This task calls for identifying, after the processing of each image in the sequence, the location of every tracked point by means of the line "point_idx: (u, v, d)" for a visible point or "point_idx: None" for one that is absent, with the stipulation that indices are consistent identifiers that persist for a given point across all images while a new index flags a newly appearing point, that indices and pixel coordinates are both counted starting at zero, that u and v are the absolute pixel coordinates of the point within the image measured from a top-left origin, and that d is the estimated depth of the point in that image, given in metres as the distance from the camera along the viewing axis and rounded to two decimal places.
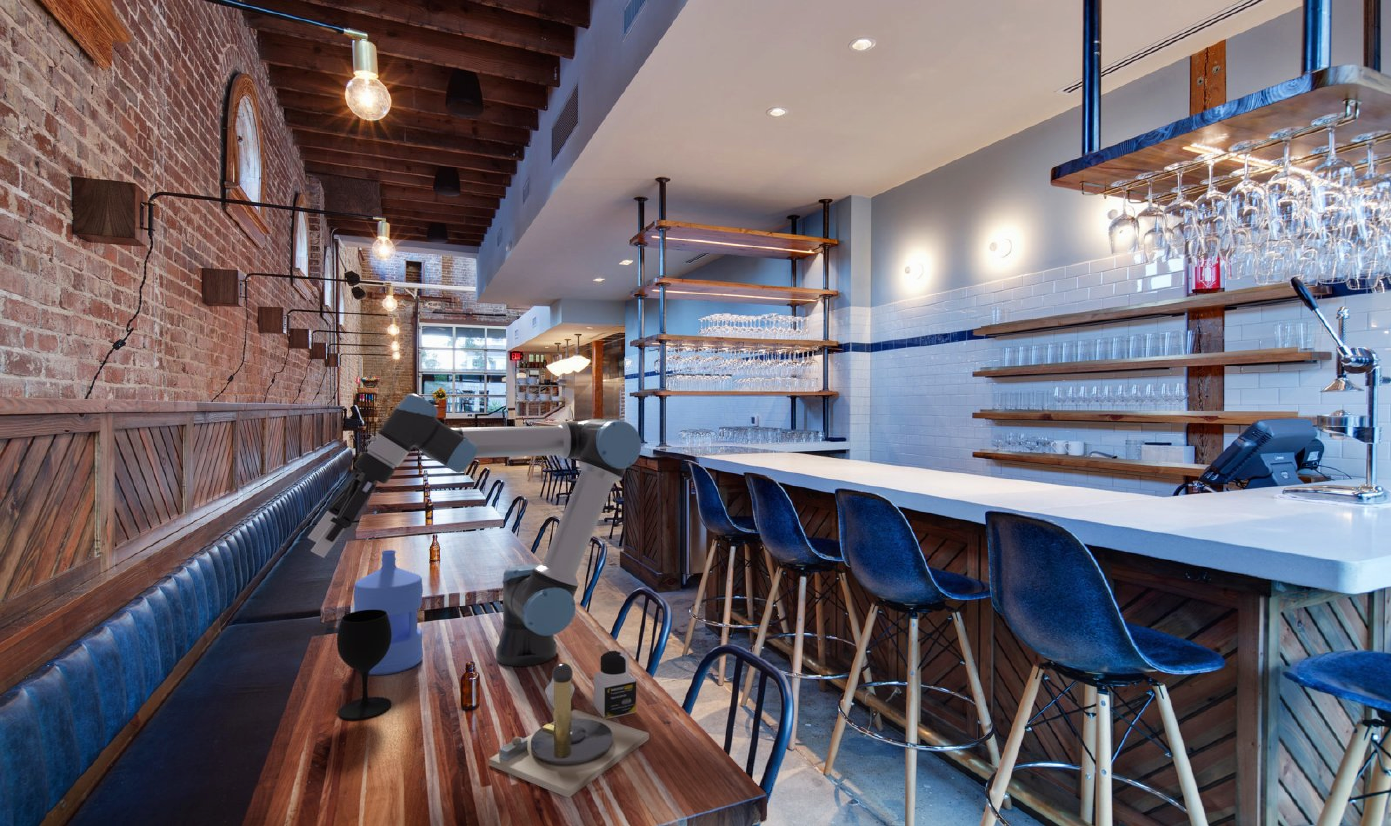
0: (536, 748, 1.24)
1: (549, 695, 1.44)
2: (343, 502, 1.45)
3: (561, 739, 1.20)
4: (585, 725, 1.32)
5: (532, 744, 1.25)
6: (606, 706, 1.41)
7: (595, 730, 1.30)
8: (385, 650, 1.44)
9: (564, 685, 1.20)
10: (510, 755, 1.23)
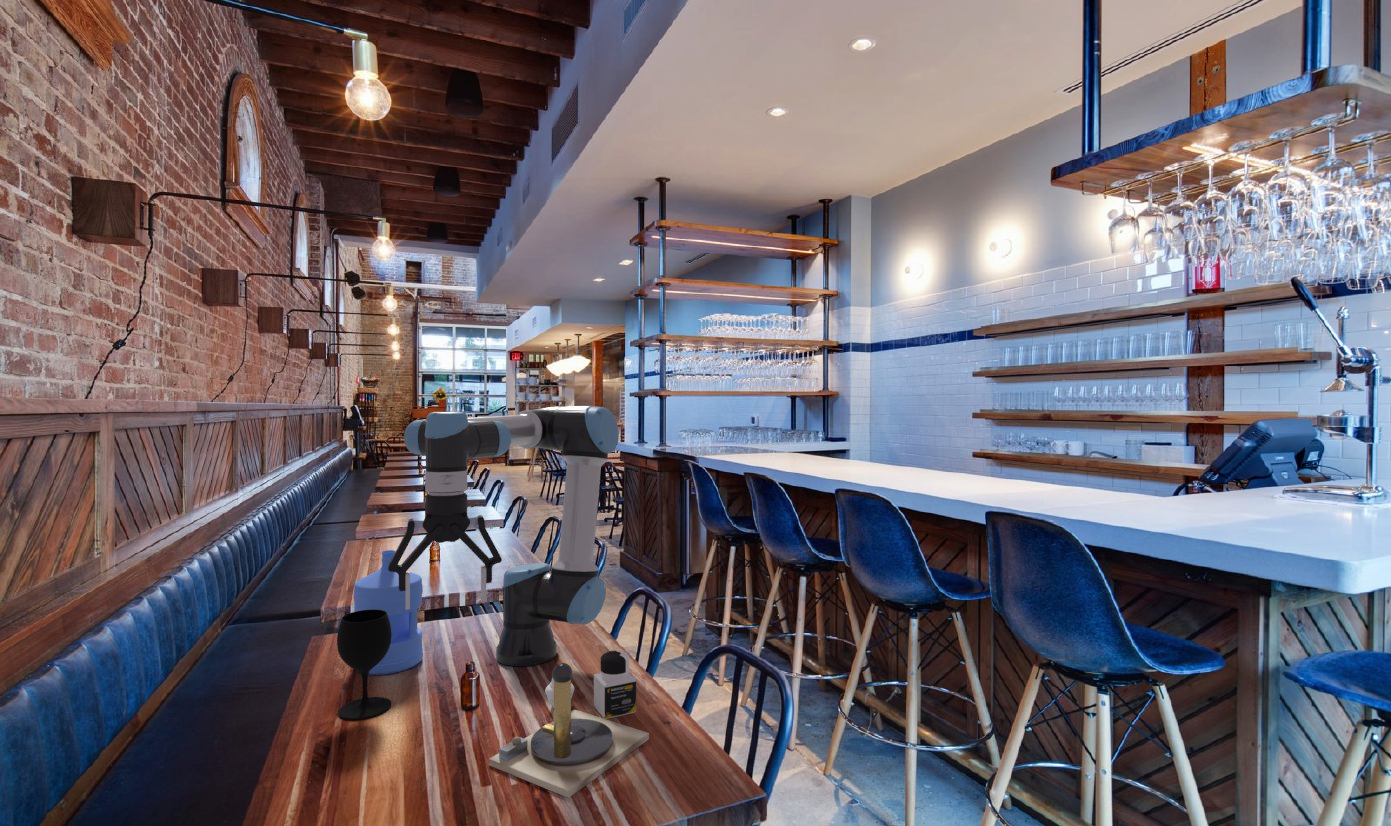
0: (536, 748, 1.24)
1: (549, 695, 1.44)
2: None
3: (561, 739, 1.20)
4: (585, 725, 1.32)
5: (532, 744, 1.25)
6: (606, 706, 1.41)
7: (595, 730, 1.30)
8: (385, 650, 1.44)
9: (564, 685, 1.20)
10: (510, 755, 1.23)
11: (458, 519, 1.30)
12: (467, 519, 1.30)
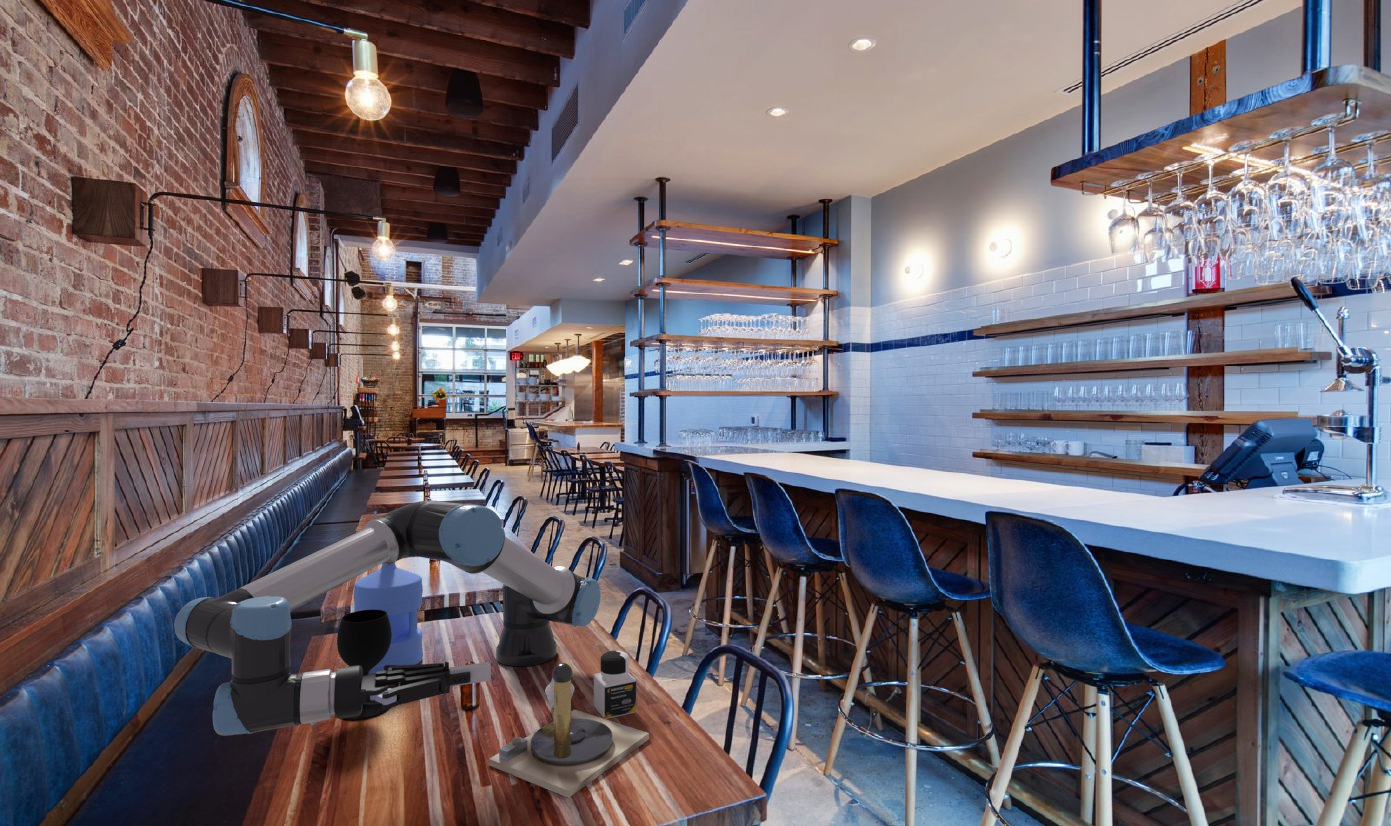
0: (536, 748, 1.24)
1: (549, 695, 1.44)
2: None
3: (561, 739, 1.20)
4: (585, 725, 1.32)
5: (532, 744, 1.25)
6: (606, 706, 1.41)
7: (595, 730, 1.30)
8: (385, 650, 1.44)
9: (564, 685, 1.20)
10: (510, 755, 1.23)
11: None
12: (374, 703, 1.06)
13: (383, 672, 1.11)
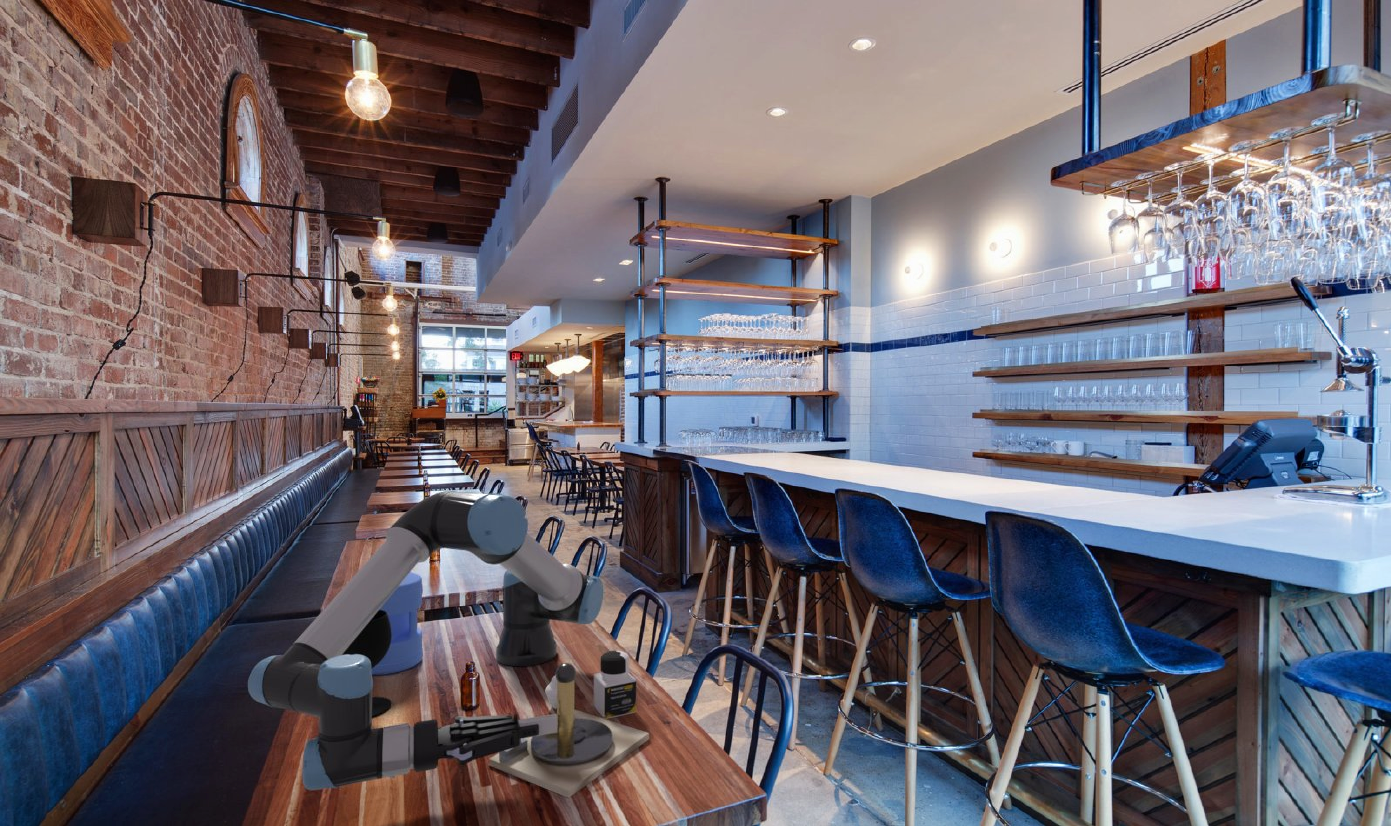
0: (537, 750, 1.23)
1: (549, 695, 1.44)
2: None
3: (566, 739, 1.20)
4: (583, 725, 1.33)
5: (533, 746, 1.24)
6: (606, 706, 1.41)
7: (594, 729, 1.31)
8: (385, 650, 1.44)
9: (568, 685, 1.20)
10: (510, 755, 1.23)
11: None
12: (450, 758, 1.10)
13: (457, 725, 1.15)
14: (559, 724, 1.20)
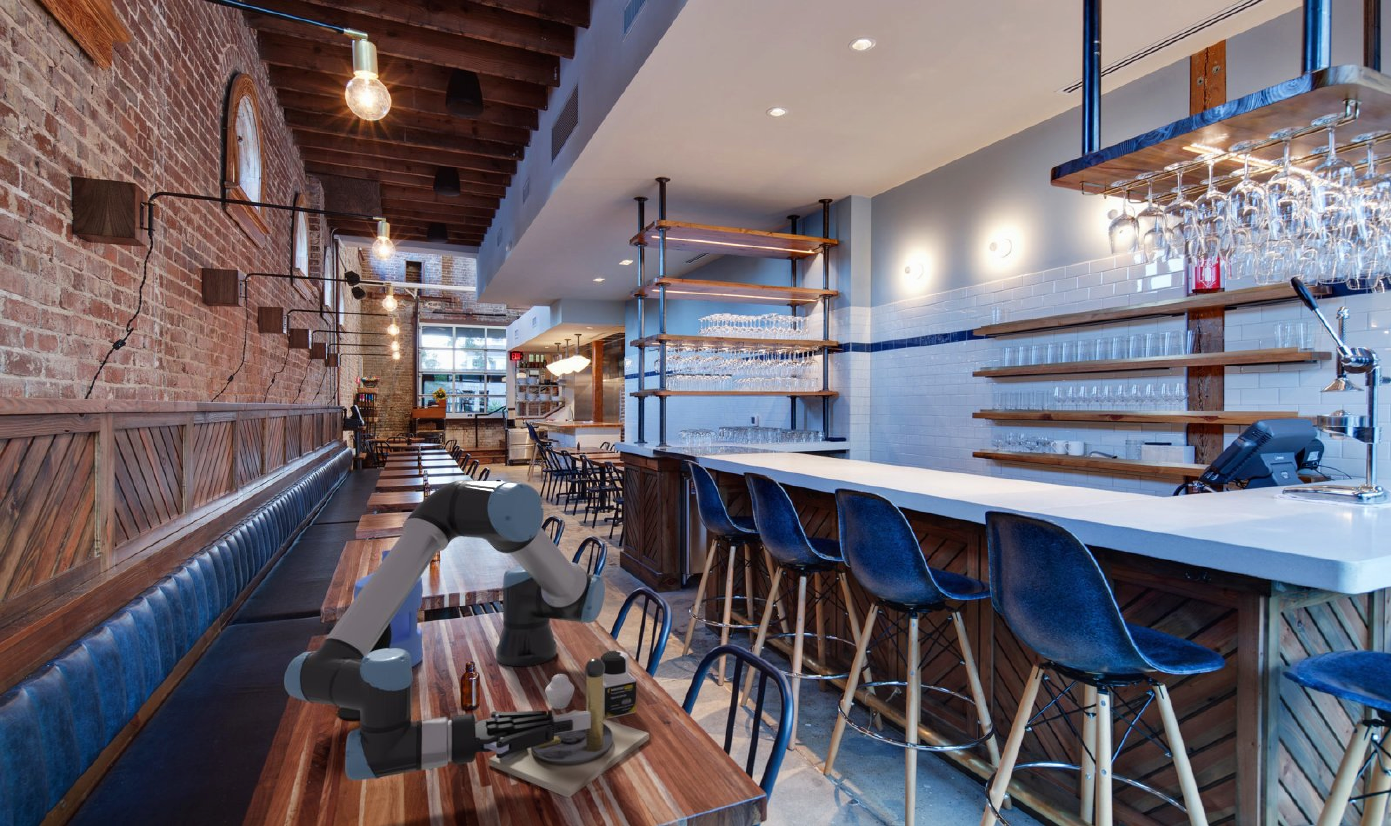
0: (568, 757, 1.21)
1: (549, 695, 1.44)
2: None
3: (601, 731, 1.23)
4: None
5: (557, 757, 1.21)
6: (606, 706, 1.41)
7: None
8: None
9: None
10: (510, 755, 1.23)
11: None
12: (487, 751, 1.12)
13: (493, 720, 1.17)
14: (596, 718, 1.23)
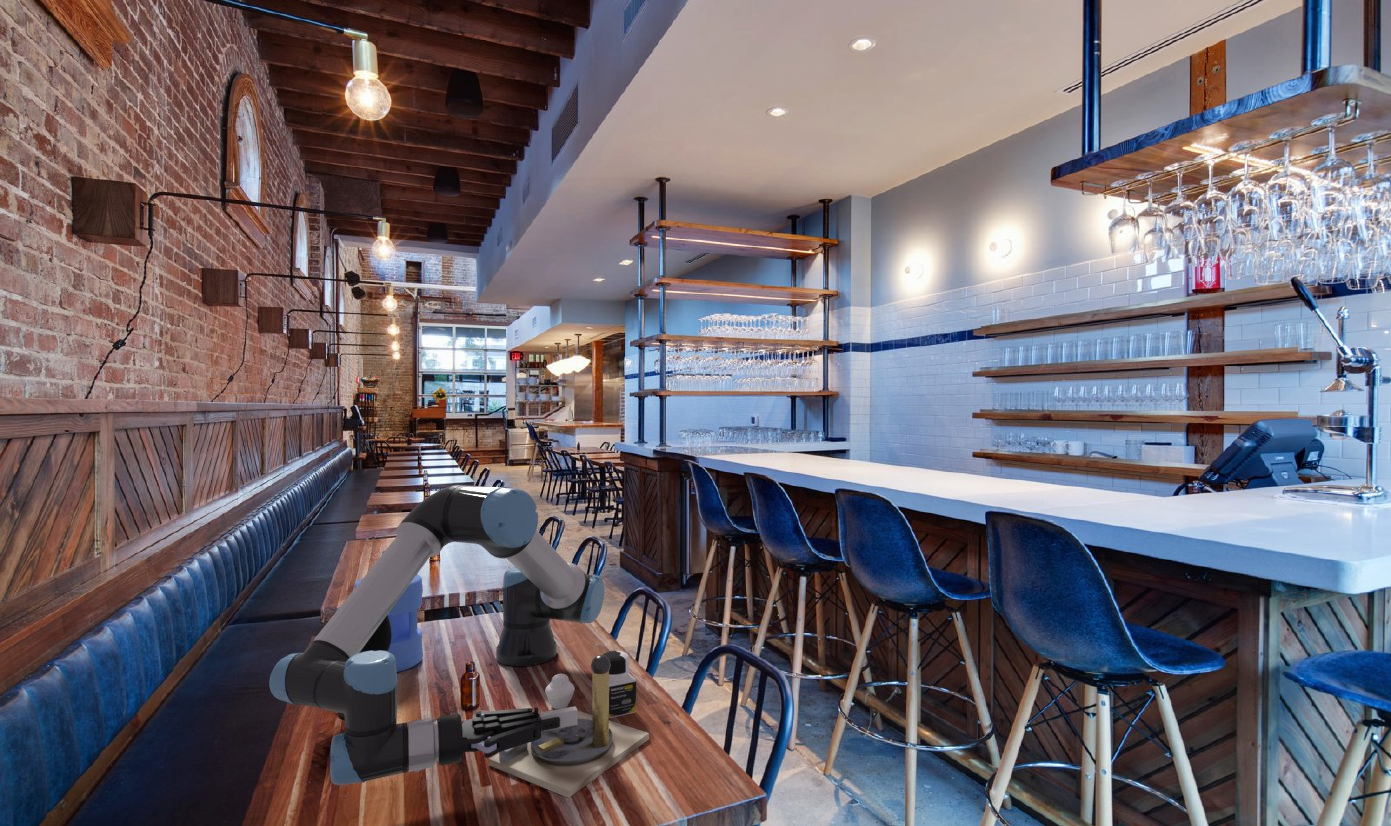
0: (580, 756, 1.21)
1: (549, 695, 1.44)
2: None
3: (608, 725, 1.25)
4: (553, 729, 1.31)
5: (569, 757, 1.20)
6: None
7: None
8: (385, 650, 1.44)
9: (608, 672, 1.26)
10: (510, 755, 1.23)
11: None
12: (475, 751, 1.12)
13: (479, 719, 1.17)
14: (604, 714, 1.24)
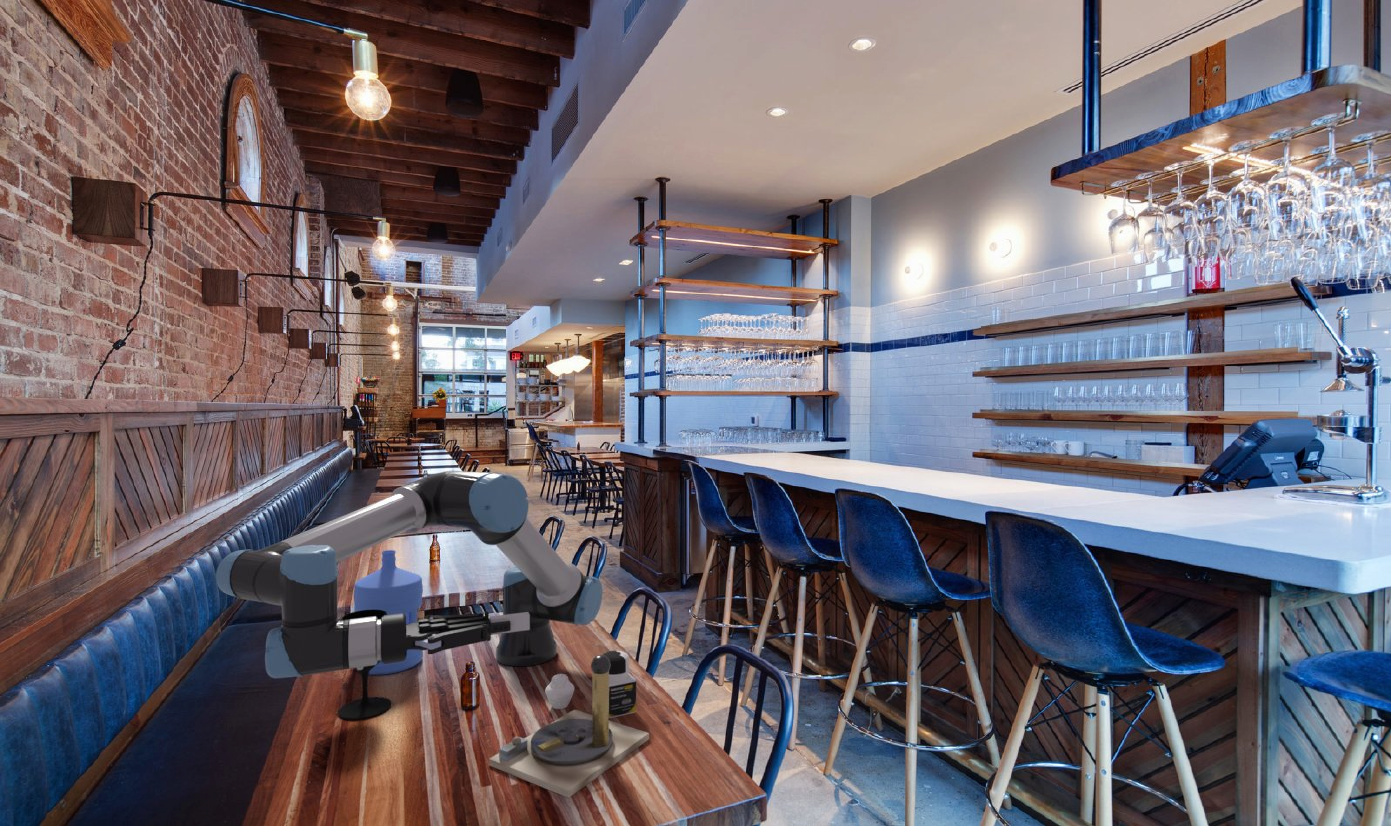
0: (580, 756, 1.21)
1: (549, 695, 1.44)
2: None
3: (608, 725, 1.25)
4: (553, 729, 1.31)
5: (569, 757, 1.20)
6: None
7: (567, 725, 1.32)
8: None
9: (608, 672, 1.26)
10: (510, 755, 1.23)
11: None
12: (419, 649, 1.08)
13: (426, 620, 1.13)
14: (604, 714, 1.24)
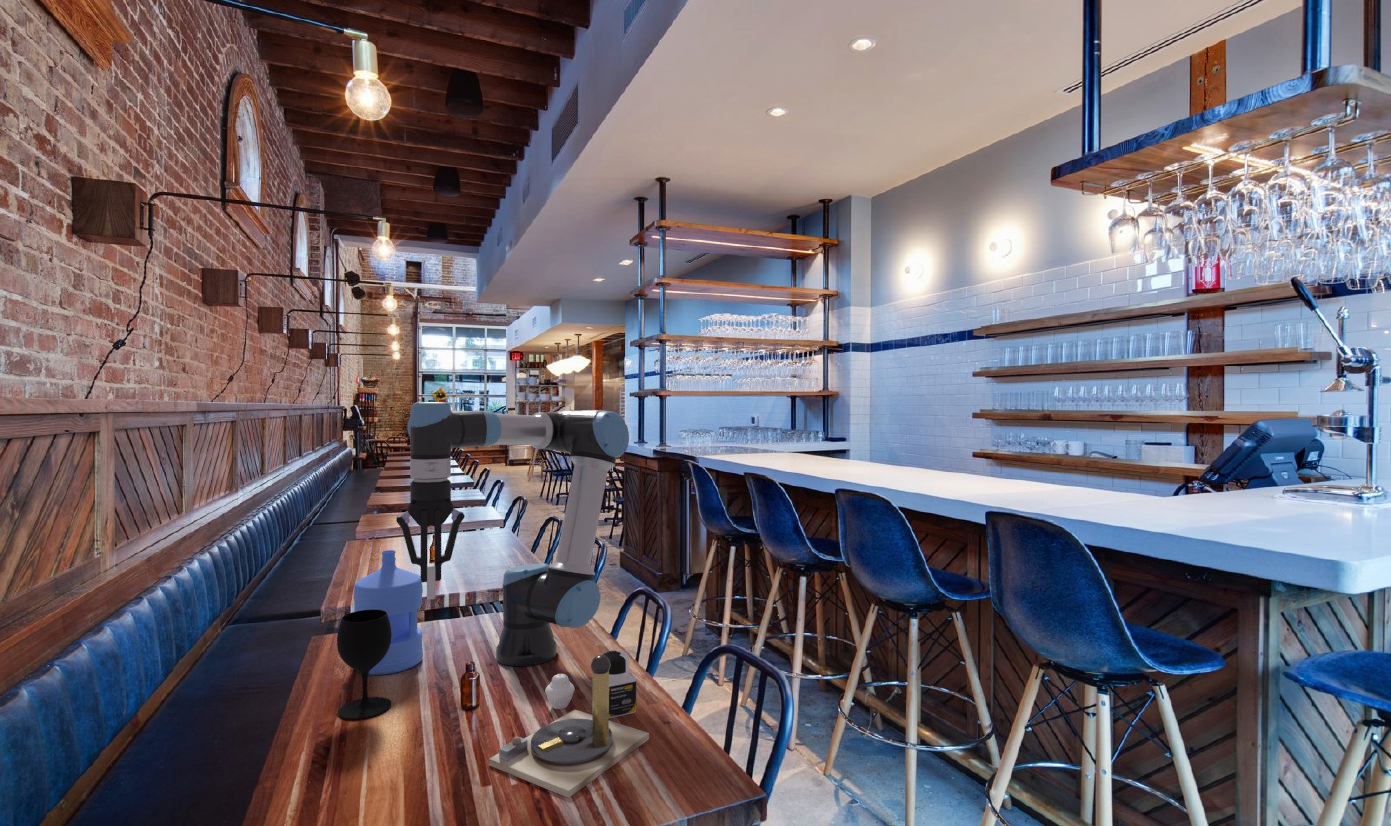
0: (580, 756, 1.21)
1: (549, 695, 1.44)
2: None
3: (608, 725, 1.25)
4: (553, 729, 1.31)
5: (569, 757, 1.20)
6: None
7: (567, 725, 1.32)
8: (385, 650, 1.44)
9: (608, 672, 1.26)
10: (510, 755, 1.23)
11: (446, 502, 1.36)
12: (452, 507, 1.36)
13: None
14: (604, 714, 1.24)
